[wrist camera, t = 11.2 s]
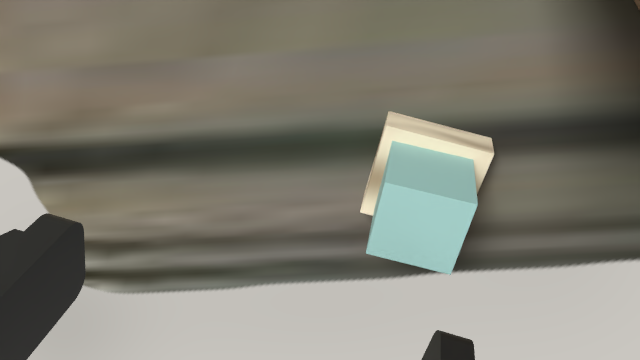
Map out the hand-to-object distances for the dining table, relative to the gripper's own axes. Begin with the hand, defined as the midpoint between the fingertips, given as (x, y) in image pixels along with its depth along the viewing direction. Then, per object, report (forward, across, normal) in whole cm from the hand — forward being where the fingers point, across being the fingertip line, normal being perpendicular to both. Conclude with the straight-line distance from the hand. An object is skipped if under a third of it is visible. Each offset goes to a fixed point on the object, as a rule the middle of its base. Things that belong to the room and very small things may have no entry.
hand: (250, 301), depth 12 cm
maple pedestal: (+30, -7, +12) cm, 34 cm away
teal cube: (+28, -7, +12) cm, 31 cm away
